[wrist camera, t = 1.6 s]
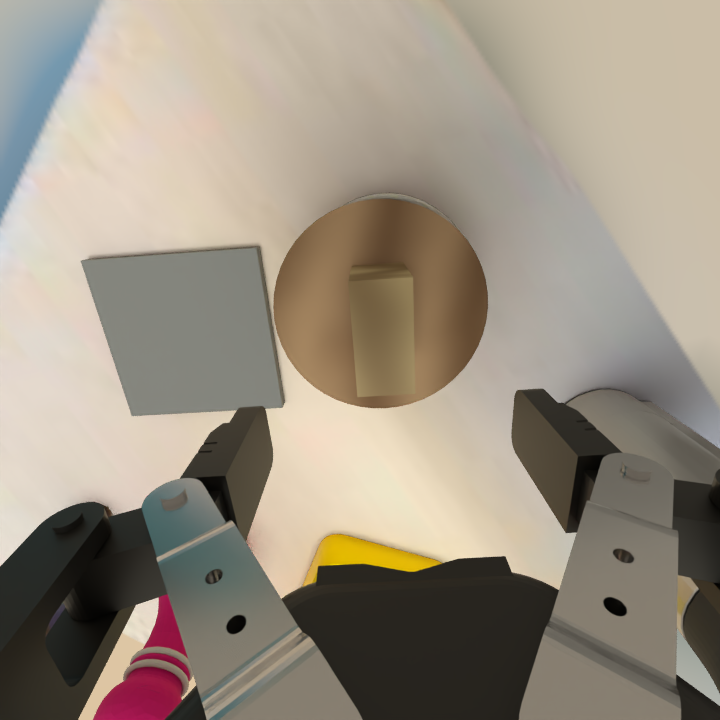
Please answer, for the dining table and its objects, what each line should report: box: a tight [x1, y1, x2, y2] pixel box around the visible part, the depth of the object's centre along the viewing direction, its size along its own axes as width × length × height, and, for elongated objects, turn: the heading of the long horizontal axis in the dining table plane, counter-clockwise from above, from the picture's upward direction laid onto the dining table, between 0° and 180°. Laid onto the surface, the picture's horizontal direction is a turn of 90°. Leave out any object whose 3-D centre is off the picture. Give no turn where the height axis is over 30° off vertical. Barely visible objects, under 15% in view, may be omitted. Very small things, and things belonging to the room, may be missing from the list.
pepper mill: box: [93, 594, 193, 720], centre depth 33 cm, size 7×7×20 cm
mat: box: [81, 247, 285, 416], centre depth 33 cm, size 14×14×1 cm
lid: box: [273, 199, 488, 408], centre depth 22 cm, size 13×13×6 cm
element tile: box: [302, 534, 442, 587], centre depth 43 cm, size 15×15×5 cm
